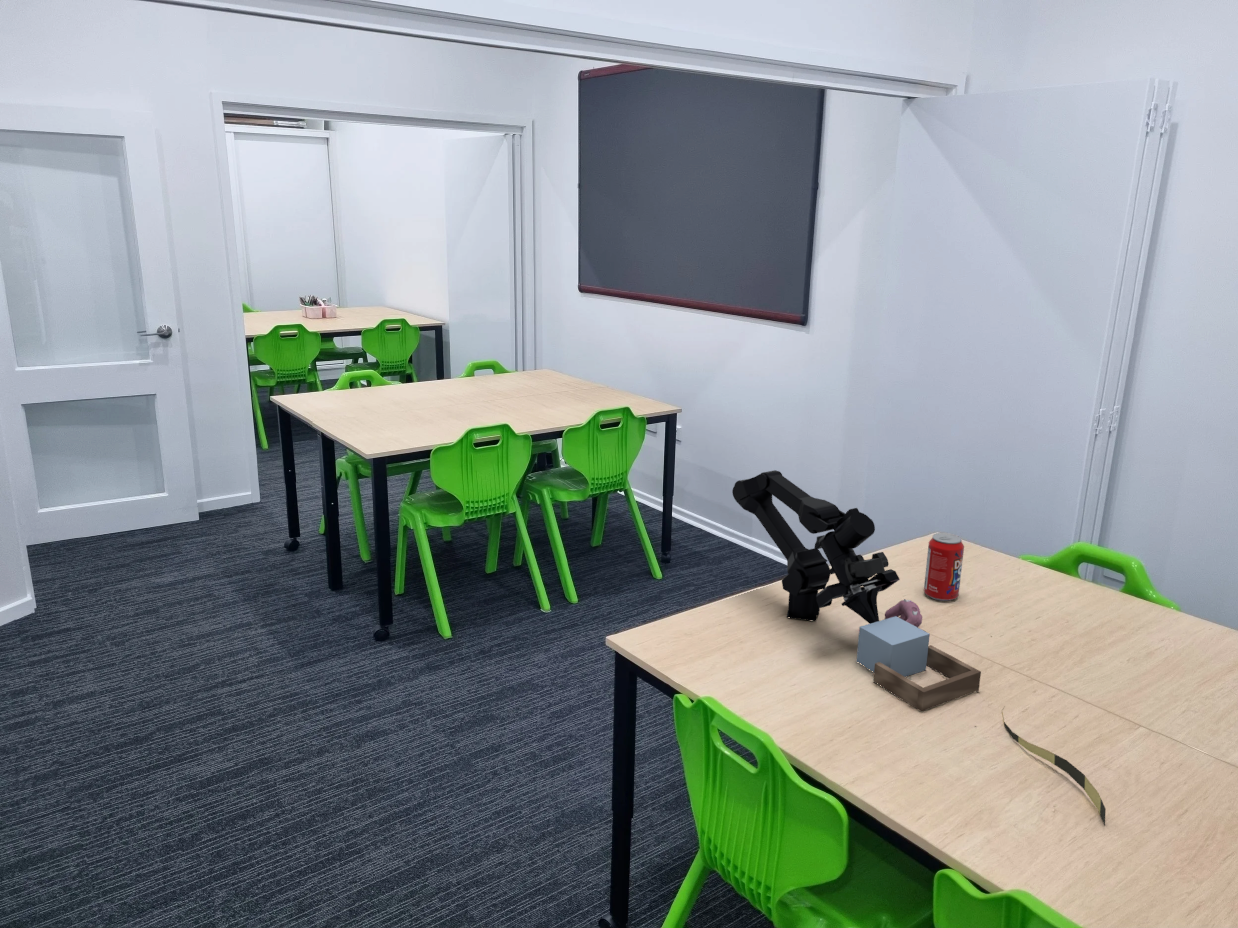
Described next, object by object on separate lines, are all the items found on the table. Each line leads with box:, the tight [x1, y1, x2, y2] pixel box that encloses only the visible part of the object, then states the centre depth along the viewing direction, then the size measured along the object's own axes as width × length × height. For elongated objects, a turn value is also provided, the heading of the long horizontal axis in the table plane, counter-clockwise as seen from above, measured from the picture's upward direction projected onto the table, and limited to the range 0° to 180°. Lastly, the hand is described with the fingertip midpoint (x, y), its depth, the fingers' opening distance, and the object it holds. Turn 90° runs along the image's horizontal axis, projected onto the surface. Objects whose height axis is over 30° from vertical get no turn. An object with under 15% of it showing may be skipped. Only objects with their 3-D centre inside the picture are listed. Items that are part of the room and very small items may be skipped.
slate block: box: [856, 616, 931, 678], centre depth 178 cm, size 9×10×8 cm
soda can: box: [923, 532, 965, 602], centre depth 209 cm, size 8×8×15 cm
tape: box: [1001, 707, 1106, 826], centre depth 150 cm, size 6×38×4 cm, turn 178°
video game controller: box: [884, 598, 923, 628], centre depth 195 cm, size 10×5×7 cm, turn 179°
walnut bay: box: [872, 645, 982, 712], centre depth 171 cm, size 12×15×4 cm
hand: (876, 625), depth 181 cm, fingers closed
